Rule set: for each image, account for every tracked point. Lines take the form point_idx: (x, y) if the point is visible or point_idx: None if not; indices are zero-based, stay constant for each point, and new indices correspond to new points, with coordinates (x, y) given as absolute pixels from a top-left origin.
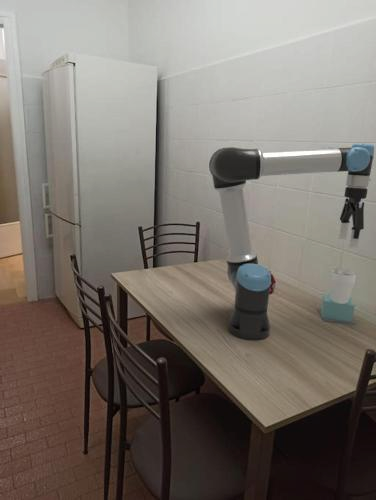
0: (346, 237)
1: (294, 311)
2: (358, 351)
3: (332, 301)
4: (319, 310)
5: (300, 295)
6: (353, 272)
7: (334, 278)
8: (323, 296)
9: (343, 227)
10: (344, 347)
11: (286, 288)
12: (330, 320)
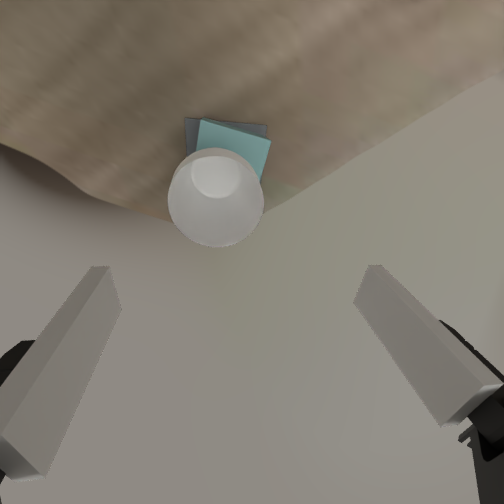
0: (360, 312)
1: (238, 31)
2: (29, 150)
3: (204, 148)
4: (251, 126)
5: (364, 102)
6: (231, 243)
7: (192, 155)
8: (251, 134)
9: (427, 355)
10: (33, 120)
11: (427, 65)
12: (188, 137)
